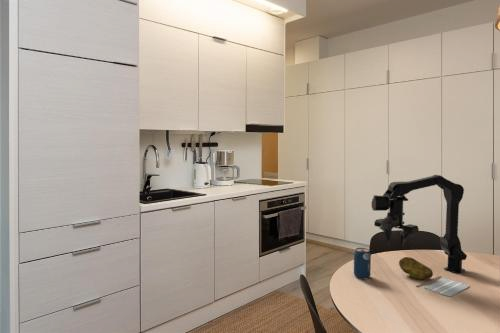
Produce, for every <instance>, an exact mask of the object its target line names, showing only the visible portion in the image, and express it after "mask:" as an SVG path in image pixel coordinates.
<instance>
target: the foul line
mask: <svg viewBox="0 0 500 333" xmlns="http://www.w3.org/2000/svg"><path fill="white" fill-rule="evenodd" d="M441 277H442V276H440V275H438V276H435V277H433V278H430V279H428V280H426V281H424V282H421V283H420V284H416V286H415V287H417V288H420V287H422V286H424V285H427V284H429V283H431V282H433V281H435V280H437V279H440V278H441Z"/></svg>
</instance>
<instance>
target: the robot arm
mask: <svg viewBox="0 0 500 333" xmlns="http://www.w3.org/2000/svg"><path fill="white" fill-rule="evenodd" d="M433 186H437V187H439V188H440V189H442V192H443V197H444V200H445V202H446V211H445V212H446V215H445V232H444V233H445V234H444V235H443V236H440V237H439V239H440V240H439V241H440V242H439V246H440V247H441V248H440V249H441V250H442V251H443V252H444V254H445V255H447V266H446V267H444V268H443V270H444V271H449V272H451V273H455V274H461V273H463V272H465V271H466V269H465V268H463V261H465V260H466V259H467V257H468V255H467V253H466V252H465V251H463V250H462V245H461V244H462V243H461V240H460V238H459V236H458V235H459V234H458V232H459V213H460V212H459V210H460V208H459V207H460V204H461V201H462V199H463V197H464V192H465V188H464V187H463V186H462V185H461V184H459V183H456V182H455V183H454V182H453V181H450V180H448V179H447V178H445V177H444V176H442V175H439V174H434V175H430V176H426V177H423V178H419V179H414V180H409V181H392V182H390V184H389V185H388V187H387V189H386V191H385V192H384V193H383V195H377V194H376V195H375V194H374V195H373V198H372V199H371V209H372V211H377V212H379V211H380V212H381V211H382V212H383V211H388V210H389V212H387V214H386V217H384V218H378V219H375V221H374V227H378V228H379V229H380V230H381V231H383V234H384V236H385V238H386V241H387V243H388V244H390V243H391V240H392V230H393V228H395V229H399V230H402V231H400V232H399V235H400V247H404V244H405V242H406V240H407V239H408V238H409V236H410V235H412V234H417V233H419V230H420V229H419V226H418V225H415V224H412V223H411V224H406V225H405V221H404V216H405V212H404V202H407V201H409V199H408V198H407V197H406V195H408V194H409V193H411V192H413V191H417V190H420V189H425V188H428V187H433Z"/></svg>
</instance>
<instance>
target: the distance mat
mask: <svg viewBox="0 0 500 333" xmlns="http://www.w3.org/2000/svg"><path fill="white" fill-rule="evenodd" d="M469 287H470V285H467V284H464V283H461V282H457V281H454V280H451V279H448V278H445V277H444V278H442V279H440V280H438V281H436V282H434V283H431V284H429V285H427V286H425V287H424V288H423V289H425V290H429V291H431V292H435V293H438V294H441V295H443V296H446V297H451V298H452V296H455V295H456V294H458V293H461V292H463V291H464V290H466V289H469Z"/></svg>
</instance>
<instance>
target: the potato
mask: <svg viewBox="0 0 500 333" xmlns="http://www.w3.org/2000/svg"><path fill="white" fill-rule="evenodd" d="M398 266H399V268H400V269H401V270H402V272H403V273H405V274H407V275H409V276H410V277H411V278H414V279H416V280H427V279H428V280H430V279H432V277H433V276H434V272H433V270H432V268H431V267H429V266H427V265H425V264H423V263H422V262H420V261H418V260H417V259H415V258H413V257H409V256H406V257H405V256H404V257H402V258H400V260H399V261H398Z"/></svg>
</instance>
